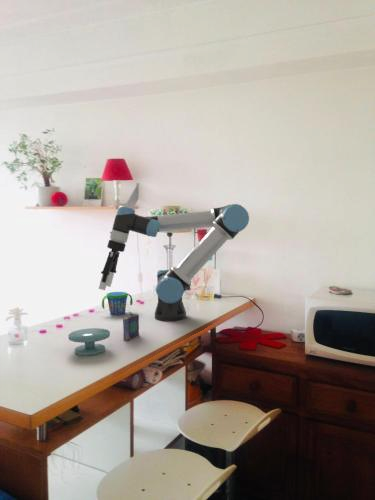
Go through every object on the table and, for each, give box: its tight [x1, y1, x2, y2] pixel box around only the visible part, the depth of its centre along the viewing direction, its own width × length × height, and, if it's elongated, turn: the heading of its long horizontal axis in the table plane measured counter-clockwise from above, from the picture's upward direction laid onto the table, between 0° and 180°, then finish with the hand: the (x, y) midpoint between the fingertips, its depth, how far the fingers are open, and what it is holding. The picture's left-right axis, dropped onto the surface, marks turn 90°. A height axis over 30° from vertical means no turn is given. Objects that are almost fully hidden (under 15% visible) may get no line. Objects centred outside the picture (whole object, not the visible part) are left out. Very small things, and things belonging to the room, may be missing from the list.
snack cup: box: [101, 291, 134, 316], centre depth 222 cm, size 16×10×10 cm
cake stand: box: [68, 327, 111, 357], centre depth 165 cm, size 15×15×6 cm
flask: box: [122, 311, 140, 342], centre depth 180 cm, size 9×3×11 cm, turn 151°
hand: (104, 287), depth 195 cm, fingers open, 13 cm apart
